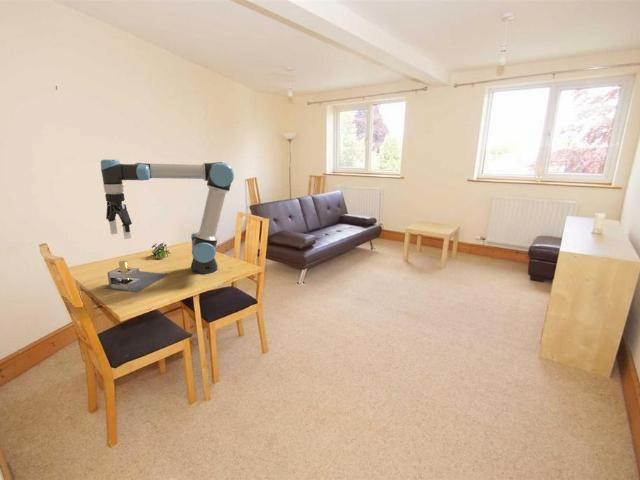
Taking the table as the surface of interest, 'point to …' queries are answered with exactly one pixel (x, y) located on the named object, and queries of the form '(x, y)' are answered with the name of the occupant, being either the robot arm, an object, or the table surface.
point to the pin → (124, 270)
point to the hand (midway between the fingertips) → (120, 236)
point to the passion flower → (157, 251)
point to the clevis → (117, 276)
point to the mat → (143, 280)
